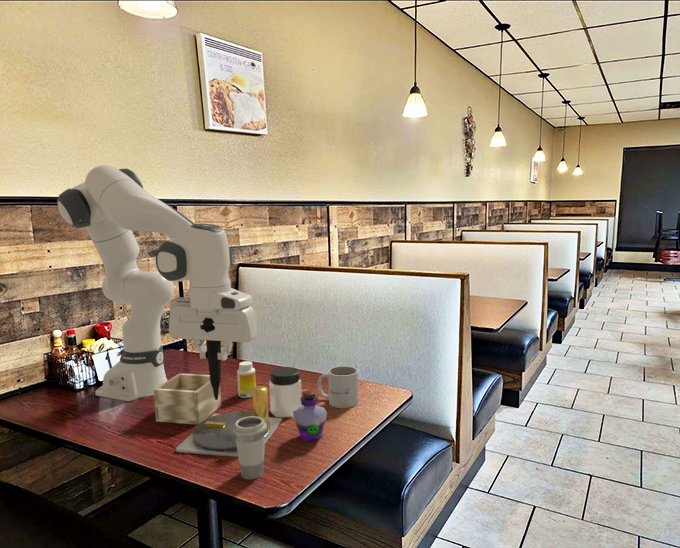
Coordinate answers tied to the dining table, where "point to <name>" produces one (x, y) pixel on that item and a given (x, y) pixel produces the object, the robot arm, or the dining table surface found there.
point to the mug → (341, 386)
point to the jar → (285, 391)
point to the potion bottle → (310, 417)
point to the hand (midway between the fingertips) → (213, 359)
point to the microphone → (213, 357)
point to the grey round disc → (230, 424)
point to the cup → (250, 445)
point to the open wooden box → (185, 399)
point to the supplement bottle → (246, 379)
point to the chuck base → (192, 447)
